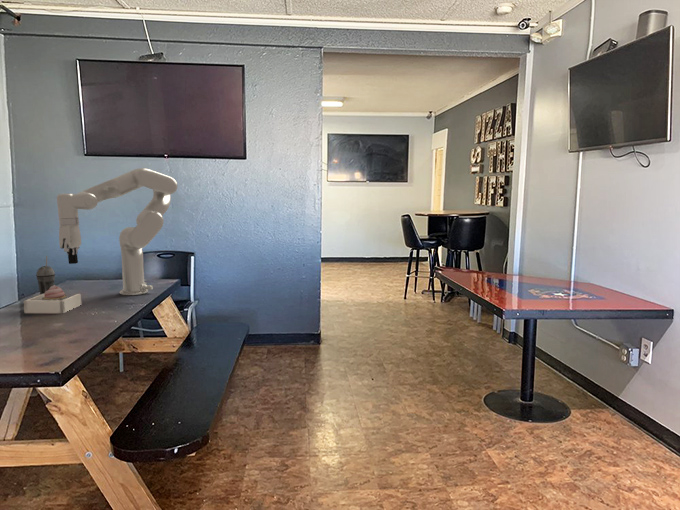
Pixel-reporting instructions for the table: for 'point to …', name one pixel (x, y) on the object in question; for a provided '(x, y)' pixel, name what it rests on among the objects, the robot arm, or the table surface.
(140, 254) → the robot arm
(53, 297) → the cupcake
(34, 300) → the box
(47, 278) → the beverage cup
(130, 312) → the table surface
